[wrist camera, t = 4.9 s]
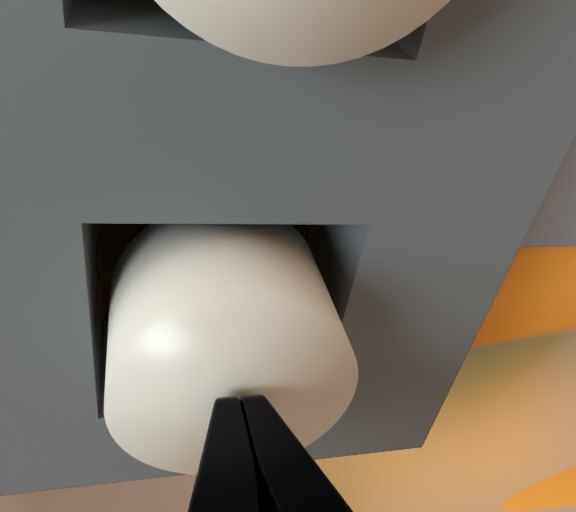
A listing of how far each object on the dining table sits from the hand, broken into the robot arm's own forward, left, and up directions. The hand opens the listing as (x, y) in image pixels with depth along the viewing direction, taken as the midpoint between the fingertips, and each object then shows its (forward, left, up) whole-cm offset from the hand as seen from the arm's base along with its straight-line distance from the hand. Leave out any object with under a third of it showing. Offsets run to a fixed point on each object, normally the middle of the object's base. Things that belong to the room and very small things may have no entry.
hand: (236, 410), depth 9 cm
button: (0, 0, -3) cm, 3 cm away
